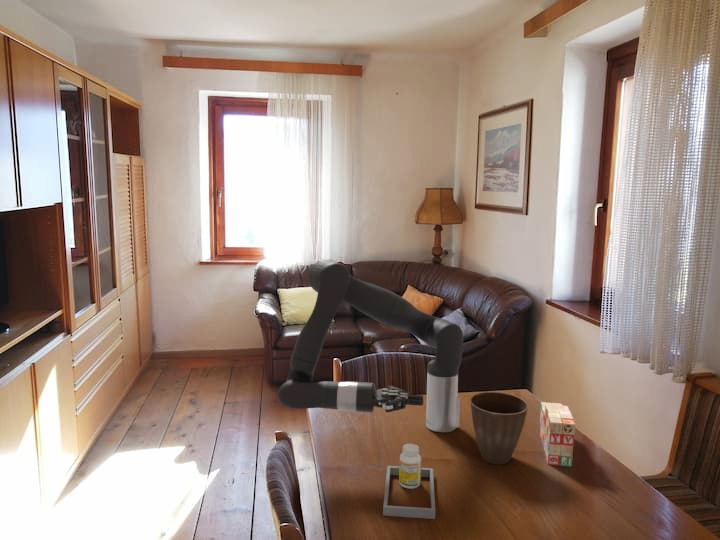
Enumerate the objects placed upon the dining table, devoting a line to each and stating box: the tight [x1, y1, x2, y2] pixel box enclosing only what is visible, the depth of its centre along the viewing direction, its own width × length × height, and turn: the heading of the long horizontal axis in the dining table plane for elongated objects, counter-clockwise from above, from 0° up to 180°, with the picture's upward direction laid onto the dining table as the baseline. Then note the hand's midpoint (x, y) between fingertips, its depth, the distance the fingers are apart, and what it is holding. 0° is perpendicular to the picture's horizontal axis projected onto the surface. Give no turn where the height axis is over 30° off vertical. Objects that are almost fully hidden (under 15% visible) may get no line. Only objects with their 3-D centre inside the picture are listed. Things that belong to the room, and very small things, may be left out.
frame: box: [382, 465, 436, 520], centre depth 133 cm, size 19×12×2 cm, turn 174°
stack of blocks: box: [539, 401, 576, 468], centre depth 157 cm, size 21×6×12 cm, turn 168°
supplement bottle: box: [398, 443, 422, 490], centre depth 137 cm, size 5×5×10 cm
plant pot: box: [470, 391, 529, 465], centre depth 150 cm, size 15×15×16 cm
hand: (423, 400), depth 142 cm, fingers closed
